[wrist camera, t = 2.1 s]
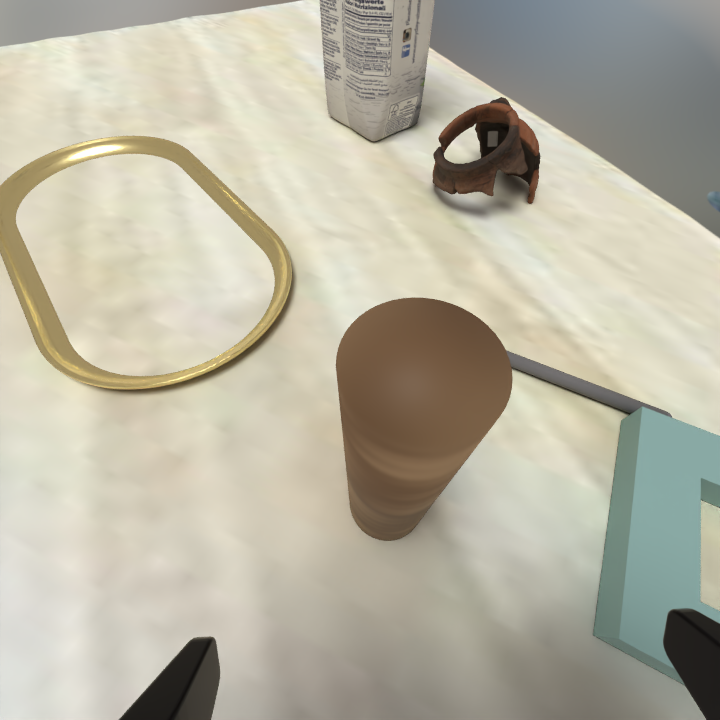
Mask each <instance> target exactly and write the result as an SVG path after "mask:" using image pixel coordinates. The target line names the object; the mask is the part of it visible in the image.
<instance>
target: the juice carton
mask: <svg viewBox="0 0 720 720" xmlns="http://www.w3.org/2000/svg"><path fill="white" fill-rule="evenodd" d="M434 1H435V0H320V12H321V27H322V42H323V57H324V72H325V85H326V96H327V105H328V112H329V114H330V116H331V117H333V118H334V119H336V120H338V121H339V122H341V123H343V124H345V125H347V126H348V127H350V128H352V129H353V130H355V131H356V132H358V133H359V134H361V135H362V136H364V137H365V138H367V139H369V140H371V141H377V140H380V139H382V138H385V137H387V136H389V135H391V134H393V133H396V132H398V131H401V130H404V129H406V128H409V127H411V126H413V125H415V124H416V123H417V121H418V118H419V113H420V108H421V102H422V96H423V88H424V81H425V73H426V65H427V57H428V49H429V40H430V33H431V25H432V17H433V9H434Z"/></svg>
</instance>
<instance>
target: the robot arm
mask: <svg viewBox="0 0 720 720" xmlns="http://www.w3.org/2000/svg"><path fill="white" fill-rule="evenodd" d="M663 646H664V650H665V652H666V655H667V657H668V658H669V660H670V662H671V663H672V665H673V667H674V668H675V670H676V671H677V673H678V675H679V676H680V678H681V679H682V681H683V683H684V684H685V686H686V687H687V689H688V691H689V692H690V694H691V696H692V697H693V699H694V700H695V702H696V704H697V705H698V707H699V708H700V710H701V712H702V713H703V715H704V716H705V718H706V720H720V623H718V622H716V621H714V620H713V619H711V618H709V617H707V616H706V615H704V614H702V613H700V612H698V611H696V610H694V609H690V608H681V609H671V610H670V611H669V612H668V614H667V619H666V625H665V631H664V636H663ZM219 680H220V666H219V659H218V652H217V645H216V640H215V639H214V637H197V638H193V639H192V640H190V641H189V642H188V643H187V644H186V646H185V647H184V648H183V649H182V650H181V651H180V652H179V653H178V654H177V656H176V657H175V658H174V659H173V660H172V661H171V662H170V663H169V664H168V666H167V667H166V668H165V669H164V670H163V671H162V672H161V673H160V674H159V676H158V677H157V678H156V679H155V680H154V681H153V682H152V683H151V684H150V686H149V687H148V688H147V689H146V690H145V691H144V692H143V693H142V694H141V696H140V697H139V698H138V699H137V700H136V701H135V702H134V703H133V705H132V706H131V707H130V708H129V709H128V710H127V711H126V712H125V713H124V715H123V716H122V717H121V718H120V719H119V720H211V718H212V713H213V709H214V704H215V700H216V695H217V691H218V686H219Z"/></svg>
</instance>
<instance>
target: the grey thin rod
mask: <svg viewBox="0 0 720 720" xmlns="http://www.w3.org/2000/svg"><path fill="white" fill-rule="evenodd" d="M506 352H507V355H508V357H509V360H510V364H511V367H513V368H515V369H518V370H521V371H523V372H526V373H528V374H531V375H533V376H536V377H538V378H541V379H544V380H546V381H549V382H551V383H554V384H556V385H559V386H562V387H564V388H567V389H569V390H572V391H574V392H577V393H579V394H582V395H585V396H587V397H590V398H592V399H595V400H597V401H600V402H602V403H605V404H608V405H610V406H613V407H615V408H618V409H620V410H623V411H625V412H628V413H631V414H632V413H633V412H635V411H636V410H638V409H639V408H641V407H642V406H643V407H645V408H648V409H650V410H653V411H656V412H658V413H661V414H663V415H666V416H669V417H671V418H672V416H671V414H670V413H668V412H666V411H664V410H661V409H659V408H656V407H653V406H651V405H648V404H645V403H643V402H640V401H638V400H635V399H632V398H630V397H627V396H624V395H622V394H619V393H617V392H614V391H611V390H609V389H606V388H603V387H601V386H598V385H596V384H593V383H590V382H588V381H585V380H582V379H580V378H577V377H575V376H572V375H569V374H567V373H564V372H561V371H559V370H556V369H554V368H551V367H548V366H546V365H543V364H540V363H538V362H535V361H533V360H530V359H527V358H525V357H522V356H519V355H517V354H514V353H512V352H509V351H506Z"/></svg>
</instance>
